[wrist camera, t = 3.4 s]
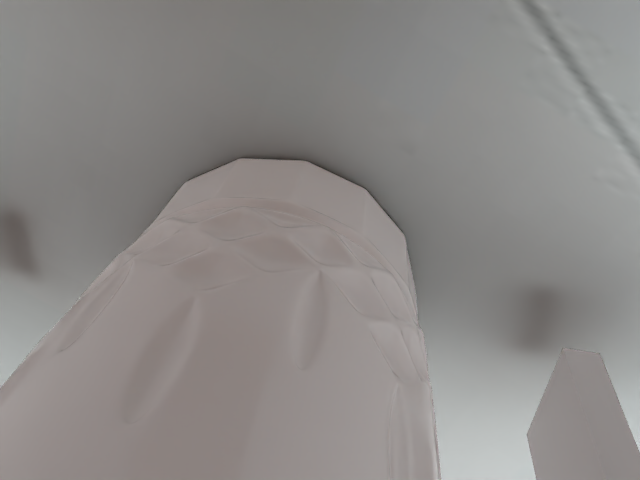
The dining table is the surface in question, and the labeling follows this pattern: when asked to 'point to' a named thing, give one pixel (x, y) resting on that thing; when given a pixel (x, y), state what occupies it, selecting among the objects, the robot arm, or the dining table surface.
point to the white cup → (236, 345)
